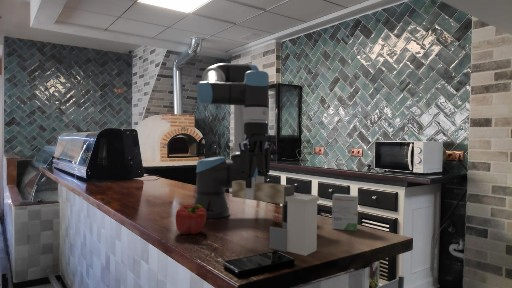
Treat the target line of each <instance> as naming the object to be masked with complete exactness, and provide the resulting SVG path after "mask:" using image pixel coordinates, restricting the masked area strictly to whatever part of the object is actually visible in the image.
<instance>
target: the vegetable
mask: <svg viewBox="0 0 512 288" xmlns="http://www.w3.org/2000/svg"><path fill="white" fill-rule="evenodd" d="M206 216H207V213H206V210H205V209H203V207H202V206H201V205H198V204H196V205H194V204H193V205H191V204H183V205H180V207H179V208H178V209H177V210H176V213H175V226H176V229H177V231H178V232H179V233H180V234H182V235H188V234H190V235H196V234H198V233H200V232H201V230H203V227H204V226H205V224H206V221H207V218H206Z"/></svg>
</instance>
